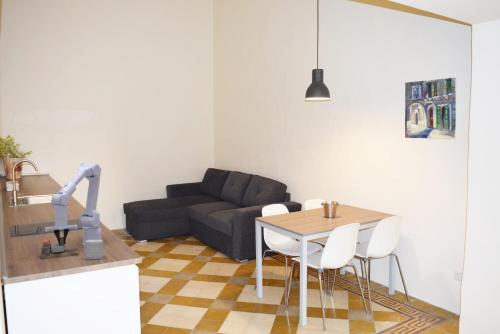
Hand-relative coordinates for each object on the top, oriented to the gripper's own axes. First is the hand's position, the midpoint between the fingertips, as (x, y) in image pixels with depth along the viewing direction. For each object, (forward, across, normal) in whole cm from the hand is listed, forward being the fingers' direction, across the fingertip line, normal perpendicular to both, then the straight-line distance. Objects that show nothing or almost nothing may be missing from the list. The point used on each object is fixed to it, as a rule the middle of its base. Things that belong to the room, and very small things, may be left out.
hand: (62, 244), depth 204 cm
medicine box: (+5, +15, -13) cm, 21 cm away
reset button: (-2, -7, 0) cm, 7 cm away
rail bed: (+5, -1, 0) cm, 5 cm away
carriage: (+3, -2, 0) cm, 3 cm away
